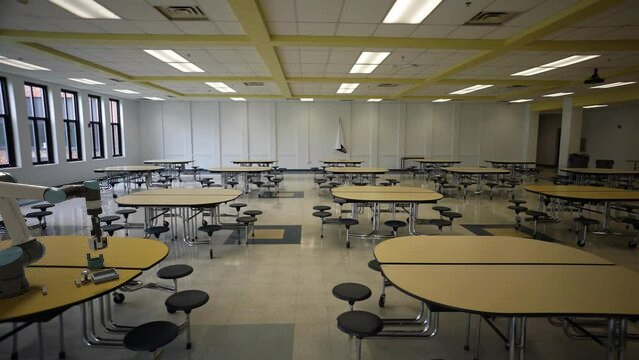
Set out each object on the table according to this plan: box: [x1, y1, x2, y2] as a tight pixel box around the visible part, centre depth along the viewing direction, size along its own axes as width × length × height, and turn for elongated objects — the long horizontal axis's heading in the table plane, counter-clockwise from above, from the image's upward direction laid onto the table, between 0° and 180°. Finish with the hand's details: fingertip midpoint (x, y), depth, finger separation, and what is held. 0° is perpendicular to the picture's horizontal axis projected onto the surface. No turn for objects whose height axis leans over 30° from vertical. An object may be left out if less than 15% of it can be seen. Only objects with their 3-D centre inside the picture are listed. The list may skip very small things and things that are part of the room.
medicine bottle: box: [87, 228, 109, 252], centre depth 195 cm, size 7×7×12 cm
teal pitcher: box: [85, 252, 105, 270], centre depth 217 cm, size 9×9×9 cm
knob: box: [80, 269, 92, 283], centre depth 196 cm, size 5×5×6 cm
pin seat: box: [42, 277, 82, 296], centre depth 187 cm, size 16×10×2 cm, turn 131°
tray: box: [90, 267, 120, 285], centre depth 200 cm, size 12×12×2 cm
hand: (98, 245), depth 196 cm, fingers closed on medicine bottle, 8 cm apart
